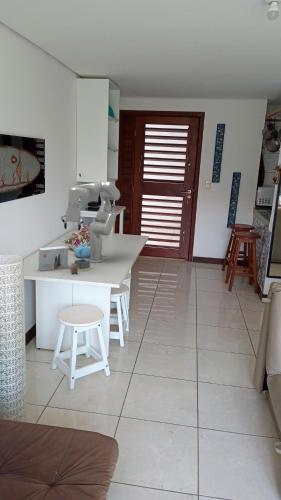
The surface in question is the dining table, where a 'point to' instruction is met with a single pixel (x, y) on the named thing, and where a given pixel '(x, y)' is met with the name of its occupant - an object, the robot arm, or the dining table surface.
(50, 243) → the dining table surface
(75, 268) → the peg
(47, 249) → the skincare box
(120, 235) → the dining table surface
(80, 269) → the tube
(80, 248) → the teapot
